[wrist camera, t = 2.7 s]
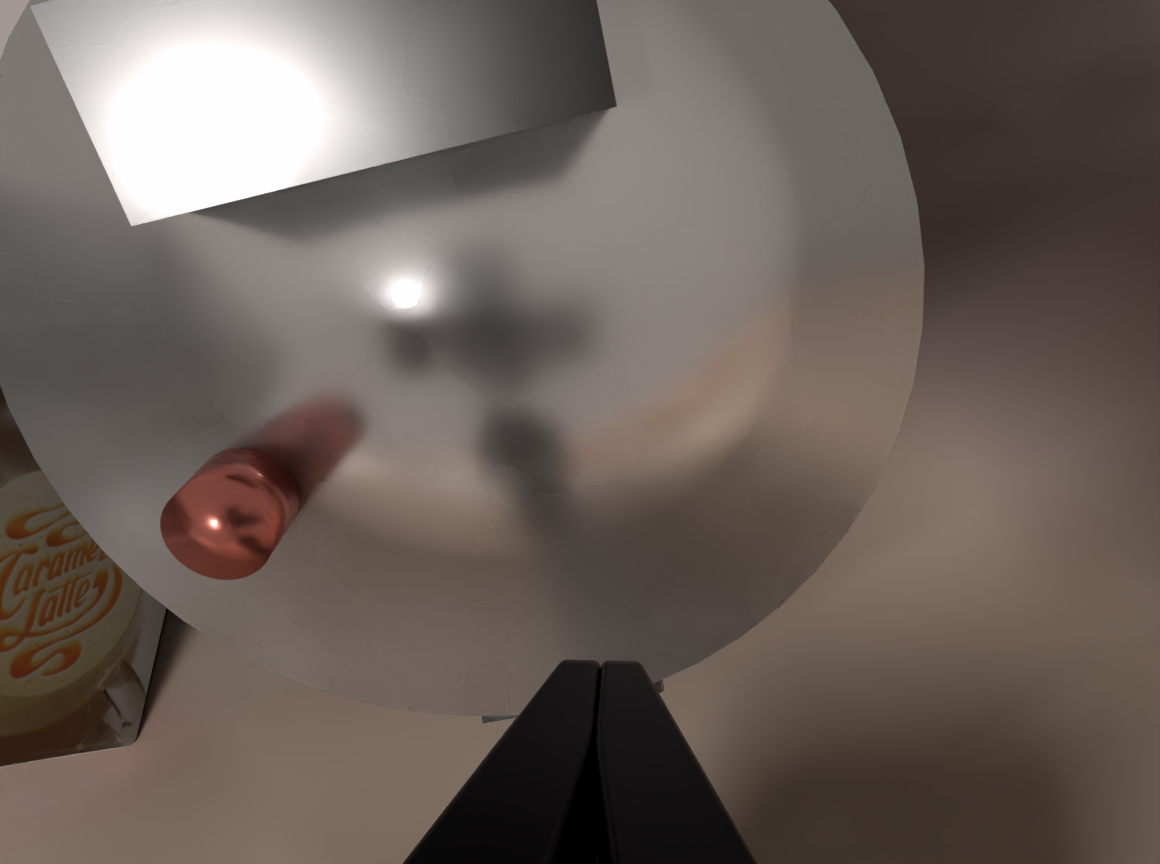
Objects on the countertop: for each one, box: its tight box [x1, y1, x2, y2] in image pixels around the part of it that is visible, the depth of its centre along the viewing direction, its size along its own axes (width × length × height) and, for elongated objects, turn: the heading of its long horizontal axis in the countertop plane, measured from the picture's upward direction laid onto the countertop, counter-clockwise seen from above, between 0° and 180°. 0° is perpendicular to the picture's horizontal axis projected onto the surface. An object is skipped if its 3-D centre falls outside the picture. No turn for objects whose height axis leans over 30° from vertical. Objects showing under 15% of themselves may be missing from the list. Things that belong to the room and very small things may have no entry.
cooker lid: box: [0, 0, 924, 716], centre depth 11 cm, size 14×14×2 cm
